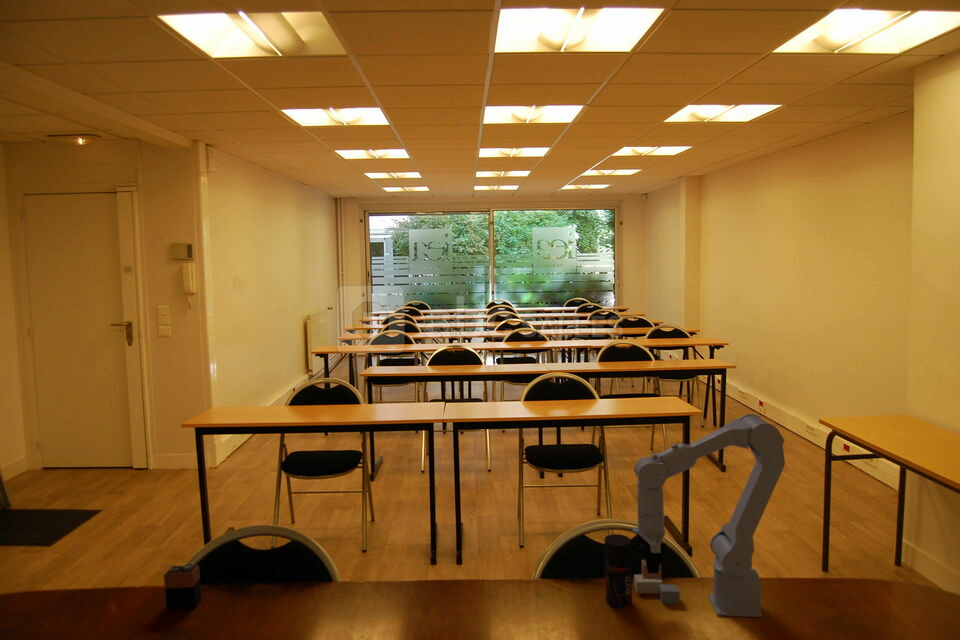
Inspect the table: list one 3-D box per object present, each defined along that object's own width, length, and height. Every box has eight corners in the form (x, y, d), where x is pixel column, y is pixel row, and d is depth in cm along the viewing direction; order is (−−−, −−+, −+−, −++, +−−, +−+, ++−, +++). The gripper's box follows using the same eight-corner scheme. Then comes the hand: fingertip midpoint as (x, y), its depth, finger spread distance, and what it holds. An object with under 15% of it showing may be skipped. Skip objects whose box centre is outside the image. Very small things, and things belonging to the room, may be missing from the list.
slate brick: (677, 597, 135) (676, 584, 135) (679, 604, 132) (679, 591, 132) (659, 596, 135) (659, 584, 135) (661, 603, 132) (661, 591, 132)
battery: (194, 609, 138) (191, 569, 137) (165, 611, 137) (162, 571, 137) (202, 599, 142) (199, 560, 141) (174, 601, 142) (171, 562, 141)
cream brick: (658, 586, 140) (658, 574, 140) (662, 594, 136) (662, 582, 136) (634, 586, 140) (633, 574, 140) (637, 594, 137) (636, 582, 137)
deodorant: (626, 611, 129) (624, 548, 128) (601, 603, 133) (600, 541, 132) (636, 599, 134) (634, 538, 133) (612, 592, 138) (611, 532, 137)
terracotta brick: (659, 572, 132) (659, 560, 132) (661, 579, 129) (661, 567, 129) (641, 572, 133) (641, 559, 133) (643, 578, 130) (643, 566, 130)
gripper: (629, 498, 138) (630, 552, 139) (636, 524, 123) (637, 584, 124) (659, 498, 137) (660, 553, 138) (670, 525, 122) (671, 585, 123)
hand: (651, 568), depth 131 cm, fingers closed on terracotta brick, 3 cm apart
